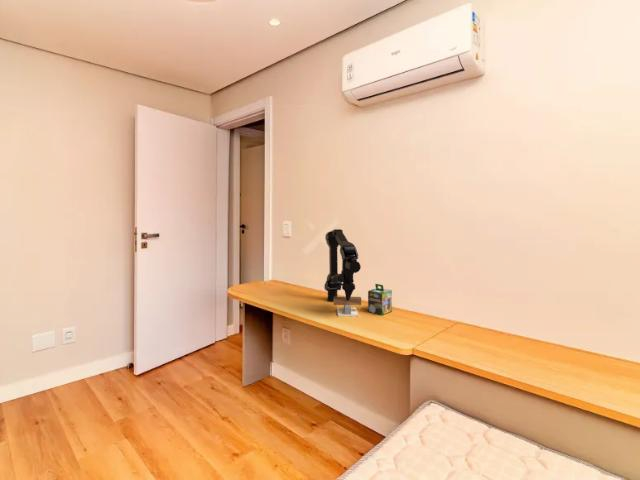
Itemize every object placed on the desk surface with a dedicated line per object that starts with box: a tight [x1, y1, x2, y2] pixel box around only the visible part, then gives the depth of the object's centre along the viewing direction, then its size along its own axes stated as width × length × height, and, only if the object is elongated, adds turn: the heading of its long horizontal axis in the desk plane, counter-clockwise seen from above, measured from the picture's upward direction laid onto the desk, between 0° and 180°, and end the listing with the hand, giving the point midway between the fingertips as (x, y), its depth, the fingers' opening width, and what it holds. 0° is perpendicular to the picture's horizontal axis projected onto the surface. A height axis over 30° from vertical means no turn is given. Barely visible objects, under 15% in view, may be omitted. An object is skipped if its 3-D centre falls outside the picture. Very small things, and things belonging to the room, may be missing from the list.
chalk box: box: [367, 283, 393, 316], centre depth 183 cm, size 9×9×15 cm
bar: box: [333, 296, 362, 306], centre depth 181 cm, size 3×14×4 cm, turn 90°
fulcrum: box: [336, 305, 359, 317], centre depth 181 cm, size 12×10×4 cm
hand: (347, 299), depth 181 cm, fingers open, 5 cm apart
